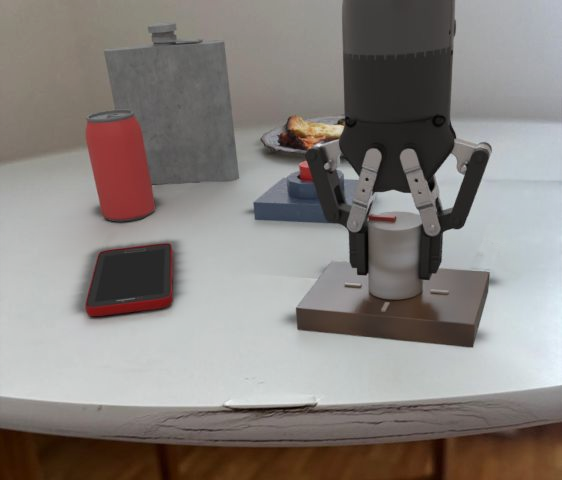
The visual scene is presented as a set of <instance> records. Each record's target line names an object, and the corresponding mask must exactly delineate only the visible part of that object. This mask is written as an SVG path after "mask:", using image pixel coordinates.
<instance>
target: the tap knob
mask: <svg viewBox="0 0 562 480" xmlns="http://www.w3.org/2000/svg"><path fill="white" fill-rule="evenodd" d="M368 218H369V219H368V287H369V292H370V293H371V294H372V295H374V296H376V297H379V298H383V299H389V300H400V299H407V298H411V297H414V296H416V295H418V294H419V293H420V292H421V291H422V289H423V280H420V255H421V236H422V234H423V232H424V227H423V224H422V221H421V217H420V214H418V213H415V212H409V211H385V212H381V213H377V214H375V213H370V215H369V216H368Z"/></svg>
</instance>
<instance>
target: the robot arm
mask: <svg viewBox="0 0 562 480" xmlns="http://www.w3.org/2000/svg"><path fill="white" fill-rule="evenodd" d="M341 3H342V4H341V34H342V35H341V36H342V37H341V38H342V71H343V72H342V73H343V107H344V113H343V114H345V115H344V116H345V125H344V129H343V131H342V133H341V135H340V138H339V139H337V140H334V141H331V142H325V141H319V142H318V143H317V144H315V145H314V146H313V147H311V148H310V149H309V150H308V151H307V152H306V155H305V161H307V164H308V167H309V170H310V173H311V176H312V179H313V182H314V185H315V188H316V192H317V195H318V198H319V201H320V204H321V207H322V210H323V213H324V216H325V219H326V221H327V222H329V223H328V224H333V223H338V224H337V225H340V226H342V227H344V228H345V229H346V230H347V233H348V254H349V256H348V259H349V262H350V264H351V267H352V268H357V275H364V276H366V275H367V274H368V220H369V218H368V216H369V215H370V214H372V213H371V212H372V209H373V206H374V203H375V200H376V198H377V195H378V193H387V192H389V191H396V192H400V193H403V194H411V197H412V200H413V203H414V207H415V208H416V210H417V211H418V213H419V214H418V215H420V217H421V221H422V224H423V227H424V232H423V234H422V236H421V255H420V280H430V278H431V275H432V273H434V274H436V273H437V271H438V269H439V268H440V267H441V264H442V261H443V242H444V241H443V240H444V233H445V232H447V231H450V230H461V229H462V228H464V227H465V224H466V222H467V219H468V217H469V214H470V212H471V209H472V206H473V204H474V201H475V199H476V196H477V192H478V191H479V187H480V186H481V185H480V184H481V182H482V180H483V177H484V174H485V171H486V169H487V166H488V163H489V160H490V158H491V155H492V151H493V148H492V145H491V144H490V143H489V142H486V141H481V142H479V143H478V144H477V143H474V142H471V141H468V140H464V139H461V138H457V133H456V131H455V130H454V127H453V125H452V121H451V109H452V108H451V105H452V86H453V85H452V83H453V63H454V43H455V42H454V39H455V37H456V33H457V20H456V0H342V1H341ZM341 153H342V154H343V155H344V156H343V157H344V158H345V159H346V161H347V162H348V163H349V165H350V166H351V168H352V169H353V171H354V172H355V173H356V175H357V176H358V179H357V180H358V184H357V187H356V190H355V194H354V197H353V204H352V206H350V205H348V204H347V203H346V199H345V196H344V193H343V189H342V186H341V183H340V180H339V176H338V173H337V170H338V169H337V168H339V167H340V165H341V156H340V154H341ZM451 155H453V156H454V157H455V158H456V171H457V172H458V173H459V174H461V175H463V178H462V181H461V184H460V186H459V190H458V192H457V195H456V198H455V201H454V204H453V206H452V207H449V208H445V209H444V208H443V205H442V201H441V197H440V188H439V185H438V181H437V177H436V173H437V172H438V170H439V169H440V168H441V167H442V165H443V164H444V163H445V161H446V160H448V158H449V156H451Z"/></svg>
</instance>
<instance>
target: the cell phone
mask: <svg viewBox="0 0 562 480" xmlns="http://www.w3.org/2000/svg"><path fill="white" fill-rule="evenodd" d="M173 275H174V251H173V246H172V244H171V243H170V242H161V243H154V244H146V245H138V246H129V247H121V248H113V249H105V250H101V251H99V253H98V254H97V257H96V261H95V265H94V269H93V272H92V277H91V279H90V280H91V281H90V285H89V288H88V292H87V296H86V300H85V306H84V307H85V311H86V314H87V315H88V316H89V317H103V316H109V315H110V316H111V315H116V314H125V313H126V314H127V313H133V312H142V311H151V310H156V309H162V308H168V307H169V306H170V305H171V304H172V303H173V301H174V293H173V284H174V276H173Z"/></svg>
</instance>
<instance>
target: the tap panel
mask: <svg viewBox="0 0 562 480" xmlns="http://www.w3.org/2000/svg"><path fill="white" fill-rule="evenodd" d="M490 274H491V271H489V270H488V271H486V270H471V269H456V268H453V269H452V268H444V267H443V268H442V267H441V268H440V267H439V269H438V271H437V273H436V274H434V273H432V275H431V278H430V280H423V289H422V291H421V292H420V293H419V294H418V295H416V296H414V297H411V298H407V299H400V300H389V299H383V298H379V297H376V296H374V295H372V294H371V293H370V292H369V287H368V274H367V275H366V276H364V275H357V268H352V267H351V264H350V261H336V260H332V261H330V263H329V264H328V265H327V266H326V268H325V269H324V271H322V273H321V275H320V276H319V277H318V279H317V280H316V281H315V282H314V284H313V285H312V287H310V289H309V290H308V291H307V293H306V294H305V295H304V297H303V298H302V299H301V300H300V301H299V303H298V305H296V307H295V316H296V318H295V319H296V329H297V330H298V331H307V332H317V333H326V334H336V335H345V336H356V337H364V338H374V339H385V340H395V341H403V342H413V343H422V344H423V343H424V344H433V345H444V346H453V347H463V348H472V349H473V348H474V345H475V342H476V338H477V334H478V331H479V328H480V324H481V320H482V317H483V313H484V310H485V305H486V301H487V298H488V295H489V287H490Z"/></svg>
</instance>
